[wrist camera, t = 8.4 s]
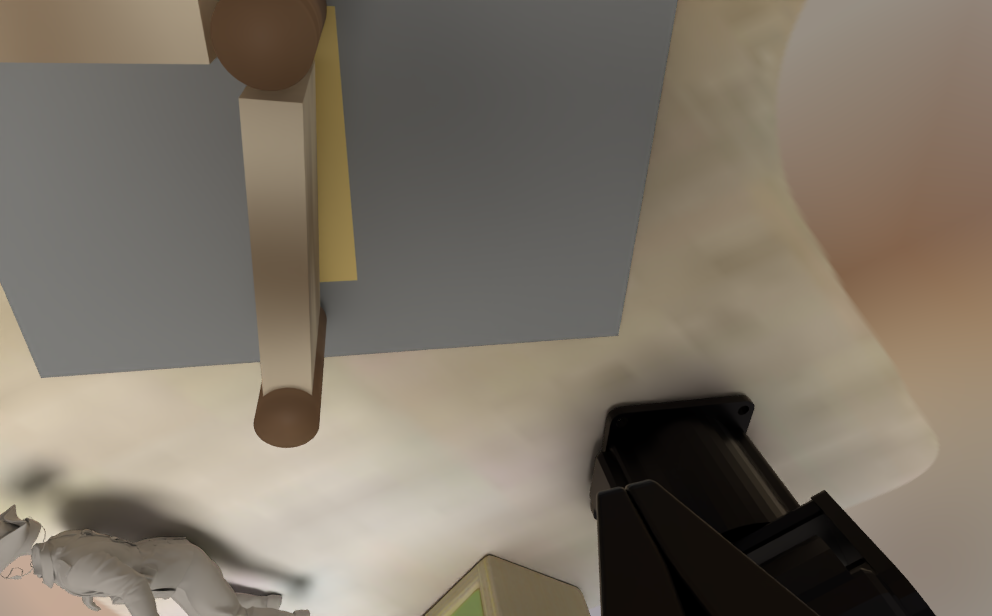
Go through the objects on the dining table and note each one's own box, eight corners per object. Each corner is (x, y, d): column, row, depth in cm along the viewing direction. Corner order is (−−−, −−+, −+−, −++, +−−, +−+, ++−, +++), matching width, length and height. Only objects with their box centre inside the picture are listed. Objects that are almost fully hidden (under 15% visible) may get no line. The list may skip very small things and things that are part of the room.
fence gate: (327, 339, 21) (320, 446, 17) (276, 340, 20) (256, 448, 16) (323, 61, 16) (311, 110, 12) (257, 55, 16) (222, 103, 12)
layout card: (698, -159, 16) (707, -161, 16) (614, 329, 24) (619, 336, 23) (-205, -232, 12) (-224, -237, 12) (46, 370, 20) (40, 379, 20)
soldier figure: (228, 618, 30) (-94, 629, 22) (259, 514, 31) (-35, 486, 23) (321, 681, 25) (-52, 729, 16) (353, 555, 26) (22, 537, 18)
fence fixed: (323, -35, 16) (309, -15, 11) (330, 41, 17) (320, 91, 12) (-80, -51, 14) (-304, -34, 9) (-47, 35, 15) (-236, 90, 10)
